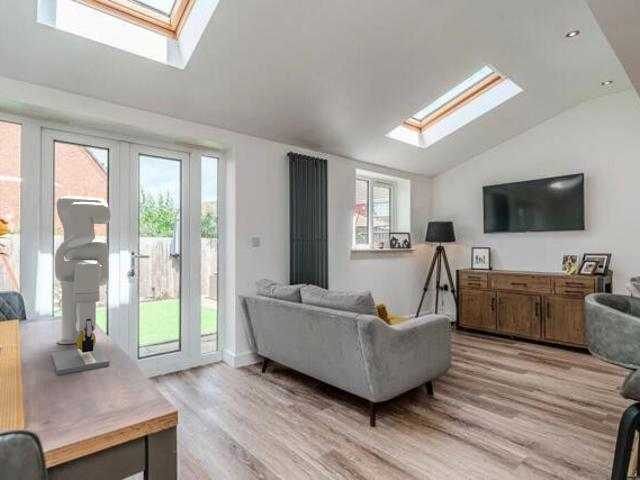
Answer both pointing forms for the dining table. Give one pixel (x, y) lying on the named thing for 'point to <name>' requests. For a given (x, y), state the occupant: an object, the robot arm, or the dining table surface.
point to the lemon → (80, 339)
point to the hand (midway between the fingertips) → (86, 349)
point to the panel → (77, 361)
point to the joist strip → (87, 357)
